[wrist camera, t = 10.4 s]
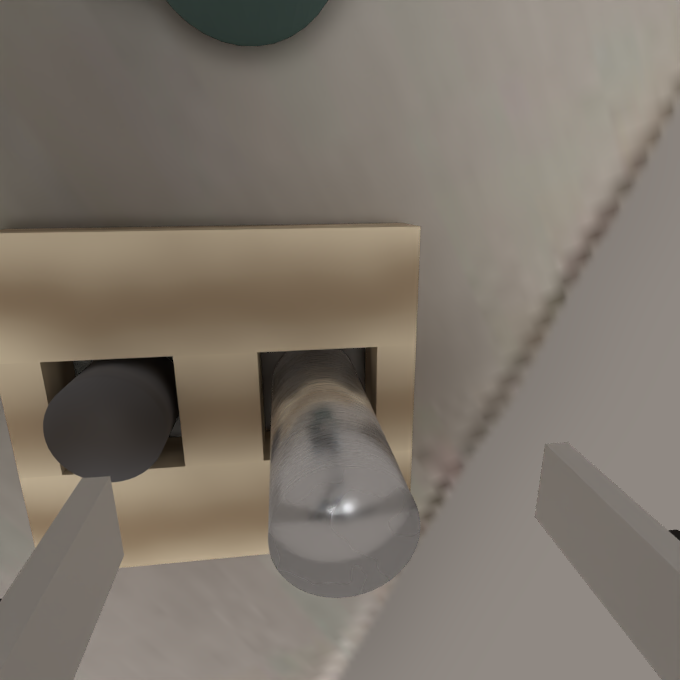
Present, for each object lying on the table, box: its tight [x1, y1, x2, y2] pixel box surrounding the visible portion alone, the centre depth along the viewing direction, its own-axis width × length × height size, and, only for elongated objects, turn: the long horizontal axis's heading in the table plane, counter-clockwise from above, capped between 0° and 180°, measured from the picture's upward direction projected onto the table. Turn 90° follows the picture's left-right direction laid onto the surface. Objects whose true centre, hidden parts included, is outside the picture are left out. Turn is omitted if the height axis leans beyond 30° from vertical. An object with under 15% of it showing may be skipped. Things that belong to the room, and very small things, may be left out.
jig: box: [0, 223, 420, 568], centre depth 22 cm, size 16×18×4 cm
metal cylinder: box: [268, 349, 420, 598], centre depth 19 cm, size 4×4×12 cm
